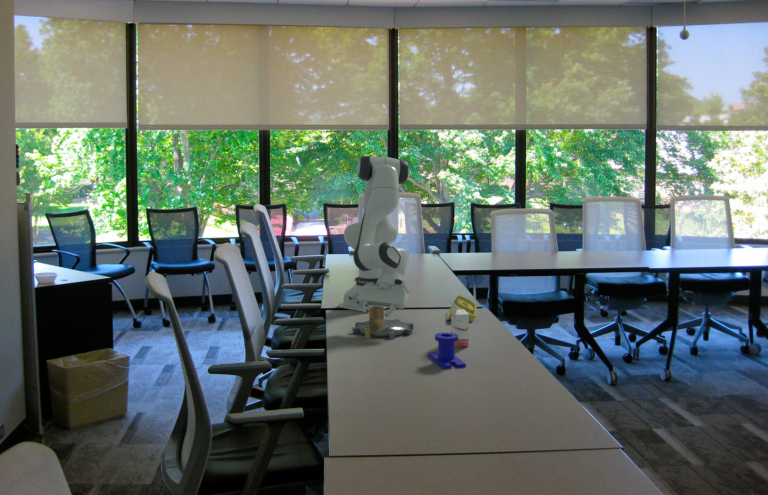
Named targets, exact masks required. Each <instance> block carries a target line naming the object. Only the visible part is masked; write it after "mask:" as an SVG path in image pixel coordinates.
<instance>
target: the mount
mask: <svg viewBox="0 0 768 495" xmlns="http://www.w3.org/2000/svg"><path fill="white" fill-rule="evenodd" d="M434 340H435V341H436V342H437V344H438V346H437V347H438V349H437V350H438V351H427V352H428V353H427V355H428V357H429V356H430V357H431V358H432V359H431V358H430V357H429V358H430V359H431V360H432V361H433V362H435V363H436V364H437V365H438V366H439V367H440V368H441V367H442V368H441V369H442V370H446V369H447V370H450V369H452V367H453V366H454V367H456V369H457V368H459V369H460V368H466V366H467V363H465V361H463V360H462V359H461V358H459V357H458V356H457V355H456V353H455V348H456V347H455V341H458V335H457V334H455V333H451V332H438V333H436V334H434Z"/></svg>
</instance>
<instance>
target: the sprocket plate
mask: <svg viewBox="0 0 768 495" xmlns="http://www.w3.org/2000/svg"><path fill="white" fill-rule="evenodd" d="M354 325H355V327H351V330H352V331H351V332H352V334H353V335H357V334H358V335H361V336H364V338H365V339H372V338H376V339H377V338H378V339H382V338H383V339H386V338H387V339H389V340H392V339H394V340H395V338H397V337H402V336H405V335H406V336H411V335H413V330H414V323H412V322H411V323H410V322H409V323H407V322H405V321H400V319H398V318H395V319H384V328H382V329H373V328H370V327H369V320H367V321H363V322H362V321H356V322H355V324H354Z"/></svg>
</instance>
